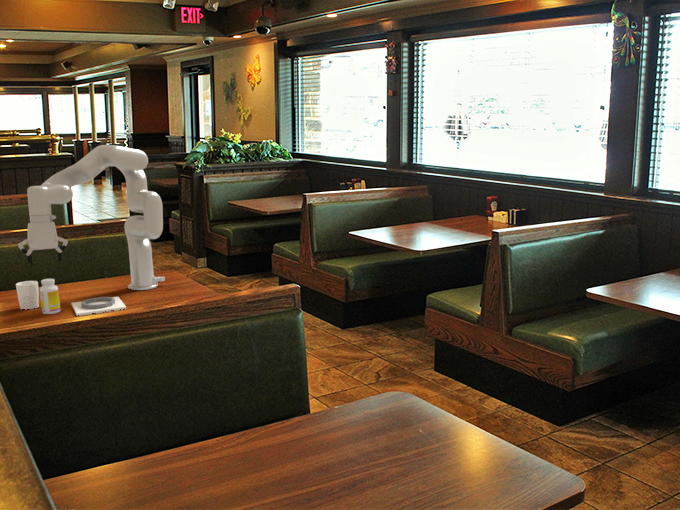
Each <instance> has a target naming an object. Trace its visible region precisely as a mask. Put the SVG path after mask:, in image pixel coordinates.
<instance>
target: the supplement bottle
mask: <svg viewBox="0 0 680 510" xmlns="http://www.w3.org/2000/svg"><path fill="white" fill-rule="evenodd" d="M40 283H41V284H40V285H41V286H40V287H39V288H38V291H39V297H40V299H39V301H40V307H41V313H42V314H43V315H54V314H58V313H60V312H61V310H62V309H61V301H60V293H59V292H60V291H59V287H58V286H57V285H55V283H56V282H55V278H44V279H42V280H40Z"/></svg>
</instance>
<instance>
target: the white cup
mask: <svg viewBox="0 0 680 510" xmlns="http://www.w3.org/2000/svg"><path fill="white" fill-rule="evenodd" d="M15 288H16V293H17V300H18V303H19V309H20V310H22V309H25V310H24V311H28V310H27V309H30V310H35V309H37V308H39V307H40V304H39V303H40V302H39V301H40V299H39V297H40V291H39V282H38V281H37V280H25V281H20V282H17V283H15ZM34 308H35V309H34Z"/></svg>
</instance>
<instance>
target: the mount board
mask: <svg viewBox="0 0 680 510" xmlns="http://www.w3.org/2000/svg"><path fill="white" fill-rule="evenodd" d="M71 307H72V309H73V310H74V313H75V315H76V317H80V316H87V315H89V316H90V315H93V314H92V313H96V314H103V312H104V313H109V312H112V311H111V310H114V311H113V312H117V311H122V310H123V309H124V308H125V310H127V305H125V303H124V302H123V301H122V299H120V297H119V296H113V297H112V296H111V297H110V296H98V297H91V298H87V299H84V300H83V301H75V302H71ZM120 309H121V310H120ZM105 311H106V312H105ZM123 311H124V310H123ZM96 314H95V315H96ZM78 315H79V316H78Z"/></svg>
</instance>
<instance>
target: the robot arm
mask: <svg viewBox="0 0 680 510" xmlns="http://www.w3.org/2000/svg"><path fill="white" fill-rule="evenodd" d="M148 164H149V157H148V155H147V154H146V152H144V151H143V150H141V149H137V148H136V149H135V148H130V147H126V146H121V145H116V144H102V145H98V146H96V147H94V148H93V149H92V150H90V151H89V152H88V153H87V154H86V155H85V156H84V157H82V158H81V159H79V160H78V161H77V162H76V163H74V164H72V165H69V166H68V167H66V168H65V169H62V170H61V171H58V172H56V173H55V174H52V176H50V177H49V178H48V179H46V180H45V181H44V182H43V183H41V185H32V186H29V187H27V190H26V193H27V194H26V196H27V205H28V214H29V221H30V222H29V223H27V238H26V239H24V240H23V241H21V242H19V243H18V244H17V247H18V248H19V249H20V251H21V252H22V253H24V254H25V255H26V258H27V264H28V265H30V267H32V266H33V257H32V256H33V255H32V253H33V251H39V250H41V251H42V250H52V249H55V251H56V258H57V260H56V261H57V263H58V264H61V262H62V261H63V259H62V253H63V251H64V250H65V249H66V247H67V245H68V243H69V241H68V239H65V238H63V237H60V236H58V233H57V232H58V231H57V228H56V224H55V221H53V220H56V219H57V215H56V214H55V215H54V214H52V205H64V204H68V203H69V202H71V200H72V199H73V197H74V196H73V195H74V194H73V190H72V189H71V187H74V186H78V185H83V184H85V183H89V182H90V181H92V180H93V179H95V178H96V177H97V176H98V175H99V174H100V173H101V172H103V171H104V170H105V169H106V168H108V167H116V169H118V170H119V171H120V172H121V173H122V175H123V176H124V178H125V182H126V183H125V184H126V204H127V209H129V211H131V212H133V213H139V214H143V215H131V216H130V217H127V218H126V220H125V222H124V226H123V228H124V233H125V236H126V240H127V244H128V245H127V246H128V257H129V269H130V280H131V281H130V283H129V284H128V285H127V288H128V289H129V290H130V289H131V291H145V290H152V289H155V288H157V287H158V286H159V283H158V282H165V280H166V277H165V276H155V275H154V263H153V251H152V250H153V249H152V244H151V240H156V239H158V238H160V236H161V235H162V233H163V230H164V218H163V217H164V216H163V215H164V214H163V202H162V198H161V196H160V194H158V193H157V192H156V191H152V190H148V189H149V188H148V181H147V180H148V179H147V176H146V175H147V174H146V173H145V171H144V169H146V168H147V166H148ZM59 242H61V243H62V245H61V246H60V247H59ZM26 245H28V249H26V248H25V247H24V246H26Z"/></svg>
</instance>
